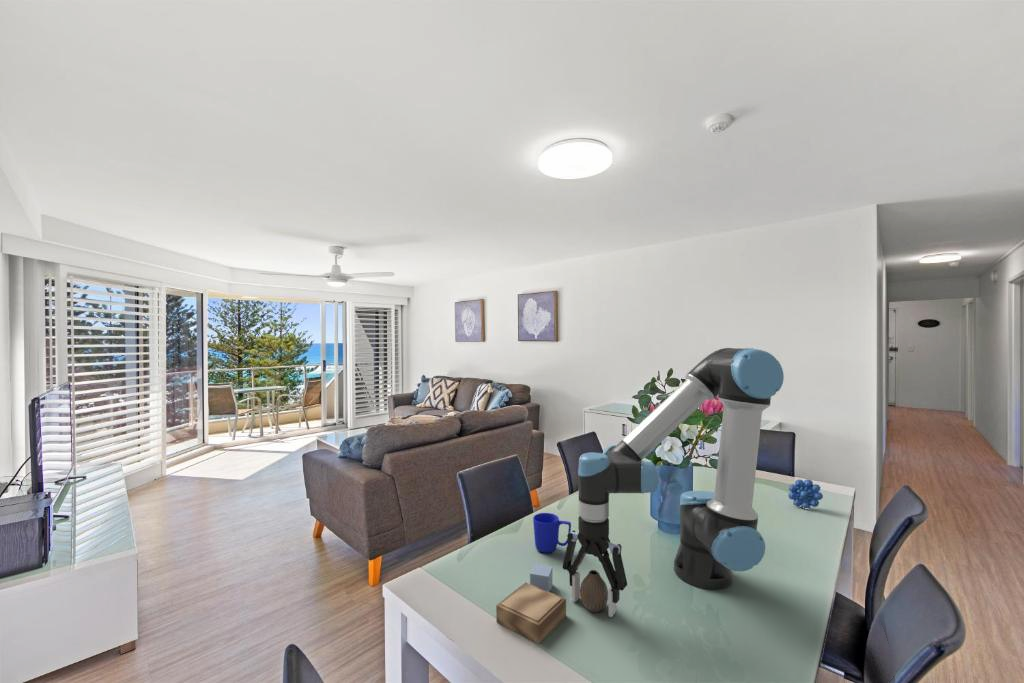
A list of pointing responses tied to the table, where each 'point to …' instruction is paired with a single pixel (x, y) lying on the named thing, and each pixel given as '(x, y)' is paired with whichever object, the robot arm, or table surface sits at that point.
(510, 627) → the plinth
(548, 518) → the mug
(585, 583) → the vase
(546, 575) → the block
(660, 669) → the table surface
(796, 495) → the grapes
